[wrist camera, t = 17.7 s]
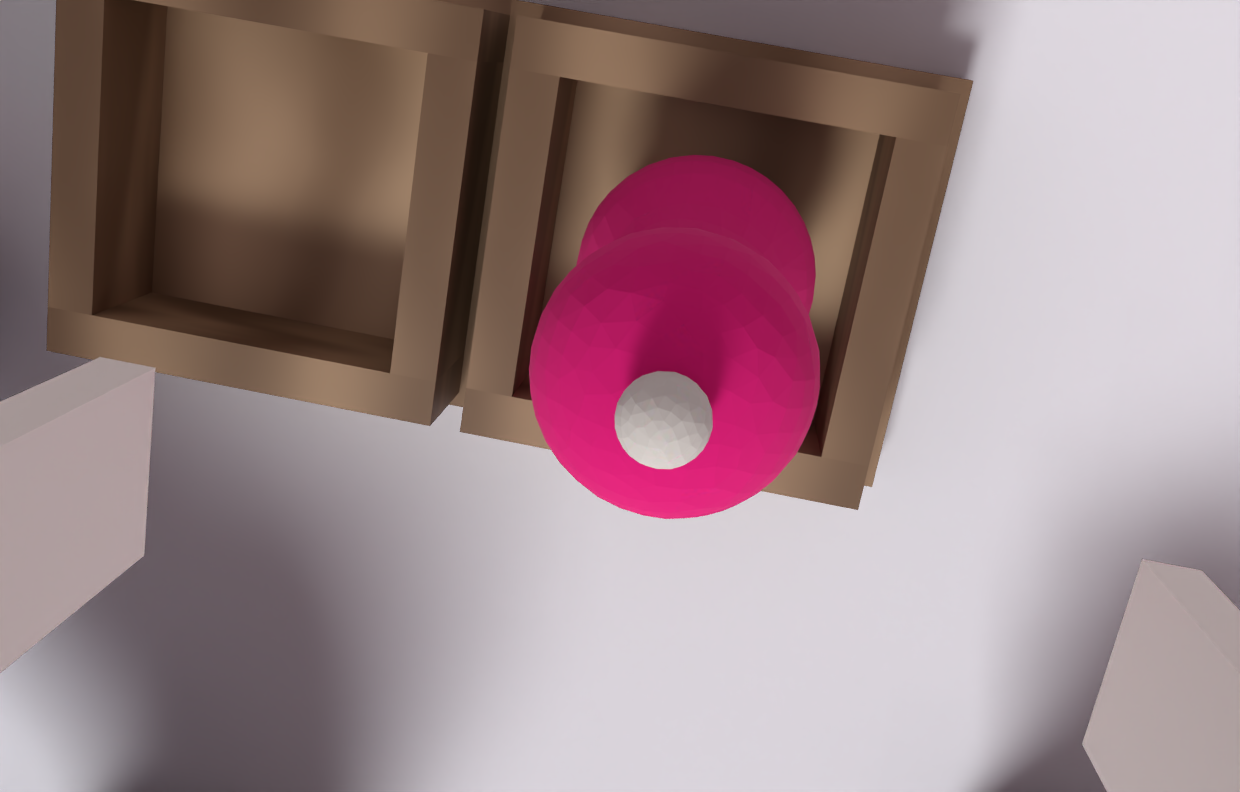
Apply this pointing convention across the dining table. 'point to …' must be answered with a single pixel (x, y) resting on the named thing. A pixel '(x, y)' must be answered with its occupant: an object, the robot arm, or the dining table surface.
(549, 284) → the wooden divided tray
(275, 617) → the dining table surface
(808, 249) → the pepper mill
